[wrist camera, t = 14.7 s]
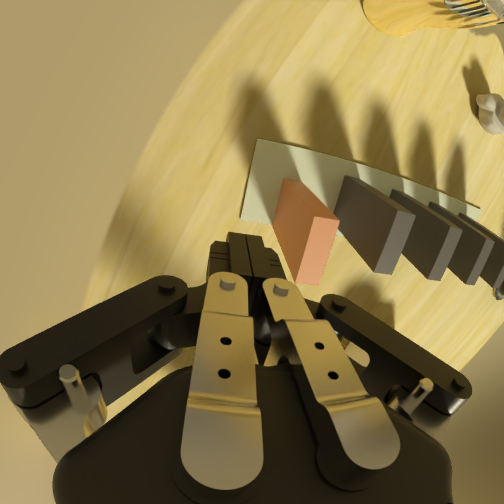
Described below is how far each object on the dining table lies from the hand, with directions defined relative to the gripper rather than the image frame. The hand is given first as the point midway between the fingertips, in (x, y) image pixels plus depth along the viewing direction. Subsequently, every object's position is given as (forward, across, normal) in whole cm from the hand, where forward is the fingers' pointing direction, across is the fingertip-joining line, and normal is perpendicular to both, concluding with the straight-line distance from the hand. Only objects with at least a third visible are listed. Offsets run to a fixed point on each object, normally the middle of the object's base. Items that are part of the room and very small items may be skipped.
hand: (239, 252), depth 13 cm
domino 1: (+14, -6, +2) cm, 16 cm away
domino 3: (+14, -18, 0) cm, 23 cm away
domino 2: (+14, -12, 0) cm, 19 cm away
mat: (+15, -18, 0) cm, 23 cm away
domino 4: (+14, -24, 0) cm, 28 cm away
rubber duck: (+15, -28, -16) cm, 36 cm away
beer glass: (+15, -12, -22) cm, 29 cm away
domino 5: (+14, -30, 0) cm, 33 cm away
